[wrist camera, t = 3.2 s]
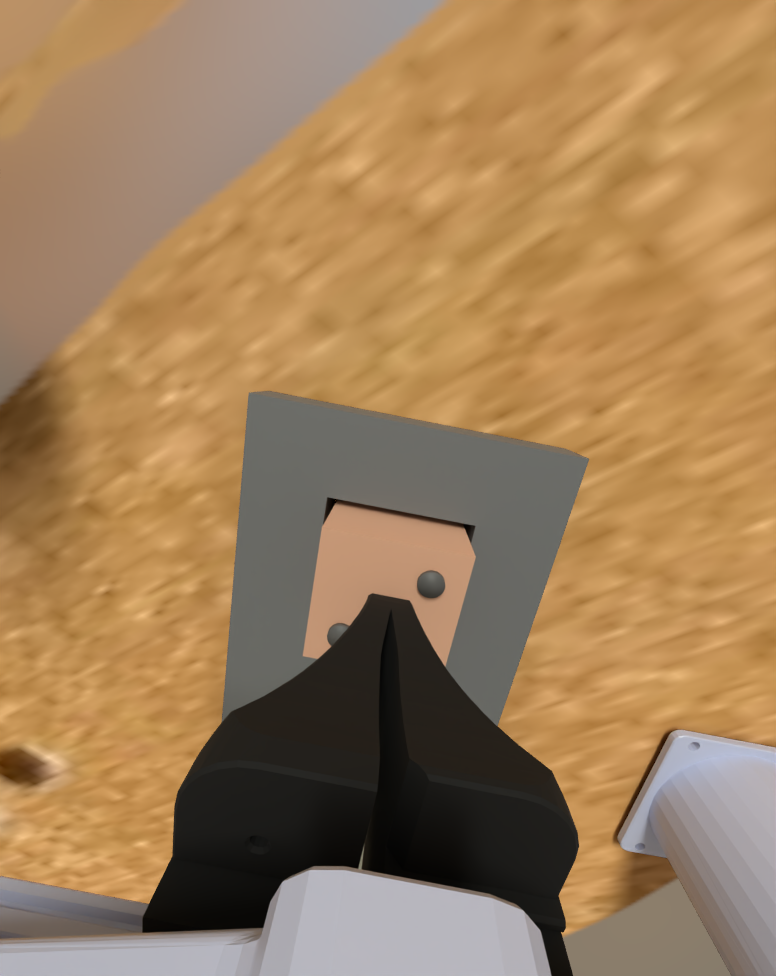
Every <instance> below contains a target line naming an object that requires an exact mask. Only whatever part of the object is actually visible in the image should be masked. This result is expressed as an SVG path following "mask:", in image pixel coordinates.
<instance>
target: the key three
mask: <svg viewBox="0 0 776 976" xmlns="http://www.w3.org/2000/svg"><path fill="white" fill-rule="evenodd" d="M475 558H476V556H475V553H474V551H473V548H472V546H471V543H470V541H469V538H468V536H467V533H466V530H465V528H464V525H463V523H458V522H453V521H448V520H443V519H438V518H433V517H427V516H422V515H417V514H412V513H407V512H401V511H396V510H391V509H386V508H381V507H376V506H370V505H365V504H360V503H355V502H350V501H344V500H339V499H338V500H337V502H336V503H335V505H334V507H333V509H332V510H331V512H330V514H329V516H328V517H327V519H326V521H325V523H324V525H323V526H322V530H321V537H320V543H319V550H318V557H317V564H316V570H315V577H314V584H313V590H312V597H311V604H310V611H309V617H308V624H307V631H306V637H305V644H304V651H303V656H304V657H310V658H315V659H318V658H319V657H321V656H322V655H323V654H324V653H325V652H326V651H327V650H328V649H329V648H330V647H331V646H332V645H333V644H334V643H335V642H336V641H337V640H338V639H339V638H340V637H341V635H342V634H343V633H344V632H345V631H346V630H347V629H348V627H349V626H350V625H351V624H352V622H353V621H354V620H355V618H356V617H357V616H358V614H359V613H360V611H361V609H362V608H363V606H364V604H365V602H366V600H367V598H368V595H370V594H372V593H374V594H379V595H384V596H390V597H395V598H400V599H405V600H410V602H411V603H412V605H413V608H414V610H415V613H416V615H417V617H418V619H419V621H420V624H421V626H422V628H423V630H424V632H425V634H426V635H427V637H428V639H429V641H430V643H431V644H432V646H433V648H434V650H435V651H436V653H437V655H438V656H439V658H440V659H441V661H442V663H443V664H444V666H446V662H447V659H448V655H449V652H450V648H451V645H452V641H453V637H454V634H455V630H456V627H457V623H458V619H459V616H460V612H461V609H462V605H463V601H464V598H465V594H466V591H467V587H468V583H469V580H470V576H471V573H472V569H473V566H474V562H475Z"/></svg>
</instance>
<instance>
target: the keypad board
mask: <svg viewBox="0 0 776 976" xmlns="http://www.w3.org/2000/svg"><path fill="white" fill-rule="evenodd" d="M588 461H589V459H588V458H586V457H583V456H581V455H579V454H577V453H574V452H572V451H570V450H567V449H564V448H559V447H554V446H549V445H544V444H538V443H533V442H528V441H523V440H518V439H513V438H508V437H502V436H497V435H492V434H487V433H482V432H477V431H472V430H467V429H461V428H456V427H451V426H446V425H441V424H436V423H431V422H426V421H420V420H415V419H410V418H405V417H400V416H395V415H390V414H384V413H379V412H374V411H369V410H364V409H359V408H354V407H349V406H343V405H338V404H333V403H328V402H323V401H318V400H313V399H307V398H302V397H297V396H292V395H287V394H282V393H277V392H272V391H263V392H251V393H249V397H248V409H247V421H246V434H245V446H244V458H243V470H242V482H241V495H240V507H239V519H238V531H237V543H236V555H235V568H234V580H233V592H232V604H231V616H230V629H229V641H228V653H227V665H226V677H225V690H224V702H223V714H222V722H223V721H224V719H225V718H226V717H227V716H228V715H229V713H230V712H231V711H233V710H235V709H238V708H240V707H242V706H244V705H246V704H248V703H250V702H253V701H255V700H257V699H259V698H261V697H263V696H265V695H266V694H268V693H270V692H272V691H273V690H275V689H276V688H278V687H280V686H281V685H283V684H284V683H286V682H288V681H289V680H291V679H292V678H294V677H295V676H297V675H298V674H299V673H301V672H302V671H303V670H305V669H306V668H307V667H308V666H310V665H311V664H312V663H314V662H315V661H316V660H317V659H315V658H310V657H304V656H303V651H304V644H305V637H306V631H307V624H308V617H309V611H310V604H311V597H312V590H313V584H314V577H315V570H316V564H317V557H318V550H319V543H320V537H321V530H322V526H323V525H324V523H325V521H326V519H327V517H328V516H329V514H330V512H331V510H332V509H333V503H334V499H339V500H344V501H350V502H355V503H360V504H365V505H370V506H376V507H381V508H386V509H391V510H396V511H401V512H407V513H412V514H417V515H422V516H427V517H433V518H438V519H443V520H448V521H453V522H458V523H464V524H463V525H464V528H465V530H466V533H467V536H468V538H469V541H470V543H471V546H472V548H473V551H474V553H475V556H476V558H475V562H474V566H473V569H472V573H471V576H470V580H469V583H468V587H467V591H466V594H465V598H464V601H463V605H462V609H461V612H460V616H459V619H458V623H457V627H456V630H455V634H454V637H453V641H452V645H451V648H450V652H449V655H448V659H447V662H446V666H445V667H446V669H447V670H448V672H449V673H450V674H451V676H452V677H453V678H454V679H455V681H456V682H457V683H458V685H459V686H460V687H461V688H462V690H463V691H464V692H465V693H466V694H467V695H468V697H469V698H470V699H471V700H472V701H473V702H474V703H475V704H476V705H477V706H478V707H479V708H480V710H481V711H482V712H483V713H484V714H485V715H486V716H487V717H488V718H489V719H490V720H491V721H492V722H493V723H494V724H495V725H496V726H498V723H499V720H500V717H501V714H502V711H503V708H504V705H505V702H506V700H507V697H508V694H509V691H510V688H511V685H512V682H513V679H514V676H515V673H516V670H517V667H518V665H519V662H520V659H521V656H522V653H523V650H524V647H525V644H526V641H527V638H528V635H529V633H530V630H531V627H532V624H533V621H534V618H535V615H536V612H537V609H538V606H539V603H540V601H541V598H542V595H543V592H544V589H545V586H546V583H547V580H548V577H549V574H550V571H551V568H552V566H553V563H554V560H555V557H556V554H557V551H558V548H559V545H560V542H561V539H562V536H563V534H564V531H565V528H566V525H567V522H568V519H569V516H570V513H571V510H572V507H573V504H574V502H575V499H576V496H577V493H578V490H579V487H580V484H581V481H582V478H583V475H584V472H585V469H586V467H587V464H588Z"/></svg>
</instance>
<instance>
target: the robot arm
mask: <svg viewBox="0 0 776 976" xmlns="http://www.w3.org/2000/svg"><path fill="white" fill-rule="evenodd" d="M617 839H618V841H619V844H620V846H621V847H622V848H623V849H624V850H627V851H631V852H637V853H642V854H648V855H653V856H658V857H664V858H668V860H669V862H670V864H671V866H672V868H673V869H674V871H675V873H676V875H677V877H678V879H679V880H680V882H681V884H682V886H683V888H684V889H685V891H686V893H687V895H688V897H689V898H690V900H691V902H692V904H693V906H694V908H695V910H696V911H697V913H698V915H699V917H700V919H701V921H702V923H703V924H704V926H705V928H706V930H707V932H708V934H709V935H710V937H711V939H712V940H713V943H714V944H715V946H716V948H717V950H718V952H719V954H720V956H721V957H722V959H723V961H724V963H725V965H726V967H727V968H728V970H729V972H730V974H731V975H732V976H776V747H770V746H765V745H760V744H754V743H749V742H744V741H739V740H733V739H728V738H723V737H718V736H712V735H707V734H702V733H696V732H691V731H686V730H675V731H673V732H671V733H670V735H669V736H668V738H667V740H666V742H665V744H664V746H663V748H662V750H661V752H660V754H659V756H658V758H657V760H656V762H655V764H654V766H653V768H652V770H651V771H650V773H649V775H648V777H647V779H646V781H645V783H644V785H643V787H642V789H641V791H640V793H639V795H638V797H637V799H636V801H635V803H634V805H633V807H632V809H631V811H630V813H629V815H628V817H627V818H626V820H625V822H624V824H623V826H622V828H621V830H620V832H619V834H618V837H617ZM363 847H364V852H363V860H362V869H358V868H359V863H360V859H361V855H362V851H363ZM578 848H579V843H578V833H577V830H576V827H575V825H574V822H573V819H572V817H571V814H570V811H569V808H568V806H567V804H566V801H565V799H564V796H563V794H562V792H561V790H560V788H559V786H558V784H557V781H556V779H555V777H554V775H553V773H552V771H551V770H550V769H548V768H547V767H546V766H545V765H543V764H542V763H541V762H539V761H538V760H537V759H536V758H534V757H533V756H532V755H531V754H529V753H528V752H527V751H525V750H524V749H523V748H522V747H520V746H519V745H518V744H517V743H515V742H514V741H513V740H512V739H511V738H510V737H509V736H508V735H506V734H505V733H504V732H503V731H502V730H501V729H500V728H499V727H498V726H496V725H495V724H494V723H493V722H492V721H491V720H490V719H489V718H488V717H487V716H486V715H485V714H484V713H483V712H482V711H481V710H480V708H479V707H478V706H477V705H476V704H475V703H474V702H473V701H472V700H471V699H470V698H469V697H468V695H467V694H466V693H465V692H464V691H463V690H462V688H461V687H460V686H459V685H458V683H457V682H456V681H455V679H454V678H453V677H452V676H451V674H450V673H449V672H448V670H447V669H446V667H445V666H444V664H443V663H442V661H441V659H440V658H439V656H438V655H437V653H436V651H435V650H434V648H433V646H432V644H431V643H430V641H429V639H428V637H427V635H426V634H425V632H424V630H423V628H422V626H421V624H420V621H419V619H418V617H417V615H416V613H415V610H414V608H413V605H412V603H411V602H410V600H405V599H400V598H395V597H390V596H384V595H379V594H374V593H372V594H370V595H368V598H367V600H366V602H365V604H364V606H363V608H362V609H361V611H360V613H359V614H358V616H357V617H356V618H355V620H354V621H353V622H352V624H351V625H350V626H349V627H348V629H347V630H346V631H345V632H344V633H343V634H342V635H341V637H340V638H339V639H338V640H337V641H336V642H335V643H334V644H333V645H332V646H331V647H330V648H329V649H328V650H327V651H326V652H325V653H324V654H323V655H322V656H321V657H319V658H318V659H317V660H316V661H315V662H314V663H312V664H311V665H310V666H308V667H307V668H306V669H305V670H303V671H302V672H301V673H299V674H298V675H297V676H295V677H294V678H292V679H291V680H289V681H288V682H286V683H284V684H283V685H281V686H280V687H278V688H276V689H275V690H273V691H272V692H270V693H268V694H266V695H265V696H263V697H261V698H259V699H257V700H255V701H253V702H250V703H248V704H246V705H244V706H242V707H240V708H238V709H235V710H233V711H231V712H230V713H229V715H228V716H227V717H226V718H225V719H224V721H223V722H222V723H221V724H220V726H219V727H218V728H217V729H216V731H215V732H214V733H213V735H212V736H211V737H210V739H209V740H208V742H207V743H206V744H205V746H204V747H203V749H202V750H201V752H200V753H199V755H198V756H197V758H196V760H195V761H194V763H193V765H192V767H191V769H190V771H189V772H188V774H187V776H186V778H185V780H184V781H183V783H182V785H181V787H180V789H179V790H178V793H177V798H176V802H175V808H174V832H173V856H172V858H171V860H170V862H169V864H168V867H167V869H166V871H165V873H164V875H163V877H162V879H161V881H160V883H159V885H158V887H157V889H156V891H155V893H154V895H153V897H152V899H151V901H150V903H149V904H146V903H141V902H136V901H131V900H125V899H120V898H115V897H109V896H104V895H99V894H94V893H88V892H83V891H78V890H72V889H67V888H62V887H57V886H51V885H46V884H41V883H36V882H30V881H25V880H20V879H14V878H9V877H4V876H0V976H573V974H572V970H571V967H570V963H569V960H568V956H567V952H566V948H565V945H564V941H563V938H562V934H561V932H564V930H565V928H566V922H565V917H564V913H563V910H562V907H561V903H560V900H559V896H558V895H559V893H560V891H561V889H562V887H563V885H564V882H565V880H566V878H567V876H568V874H569V872H570V870H571V868H572V866H573V863H574V861H575V859H576V855H577V851H578Z"/></svg>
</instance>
